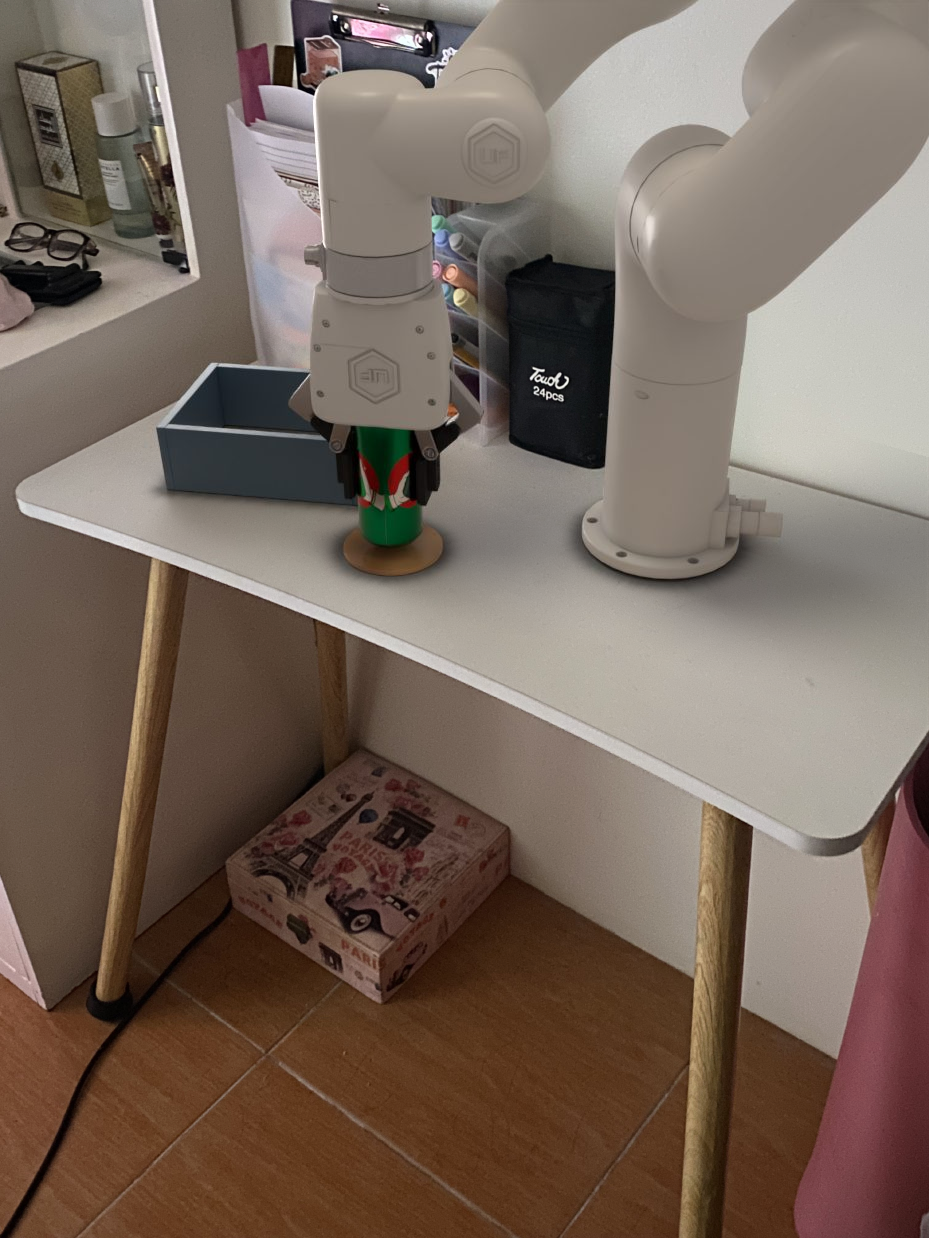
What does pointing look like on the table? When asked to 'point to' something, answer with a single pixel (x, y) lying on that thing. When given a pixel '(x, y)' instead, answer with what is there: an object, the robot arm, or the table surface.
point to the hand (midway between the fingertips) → (389, 492)
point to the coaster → (393, 554)
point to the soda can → (387, 485)
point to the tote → (247, 438)
